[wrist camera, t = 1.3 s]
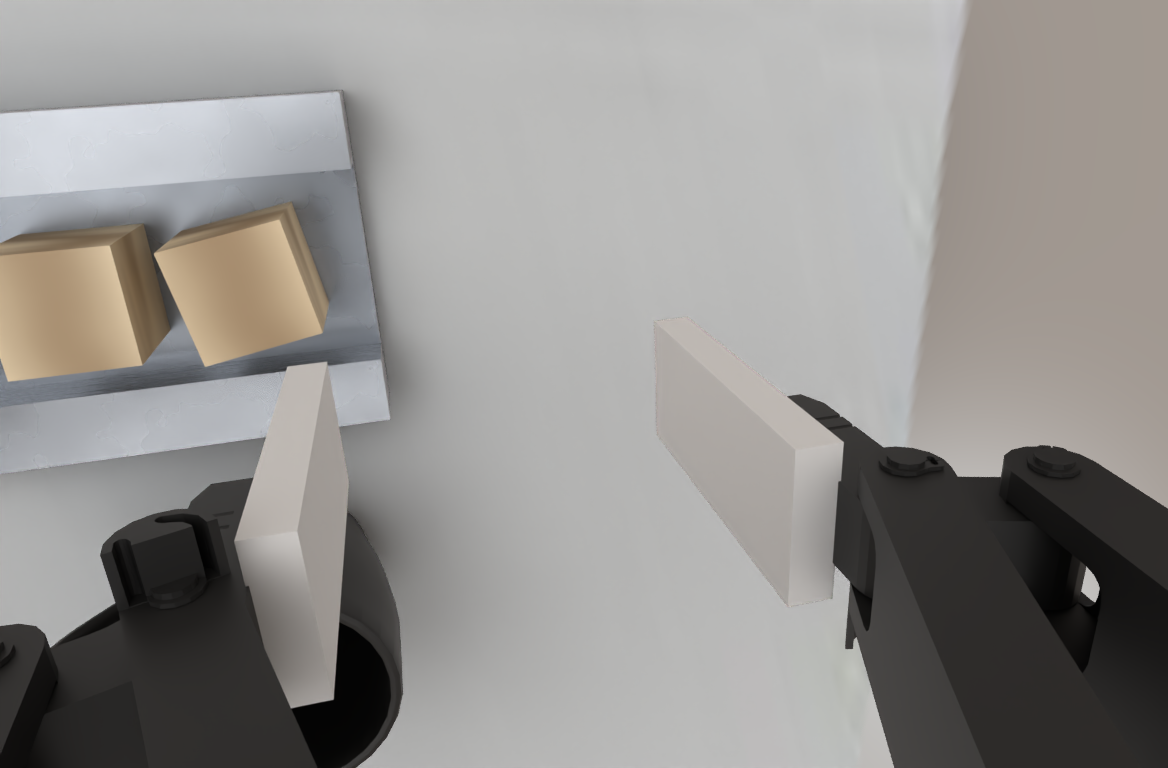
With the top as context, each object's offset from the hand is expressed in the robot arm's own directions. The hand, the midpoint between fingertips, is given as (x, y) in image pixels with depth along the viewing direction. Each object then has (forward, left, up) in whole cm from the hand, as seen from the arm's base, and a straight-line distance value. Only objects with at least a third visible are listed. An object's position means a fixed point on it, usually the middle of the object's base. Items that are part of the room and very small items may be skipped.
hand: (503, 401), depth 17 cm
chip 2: (-7, 0, -16) cm, 17 cm away
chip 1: (-13, 0, -16) cm, 20 cm away
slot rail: (-11, 0, -17) cm, 20 cm away
